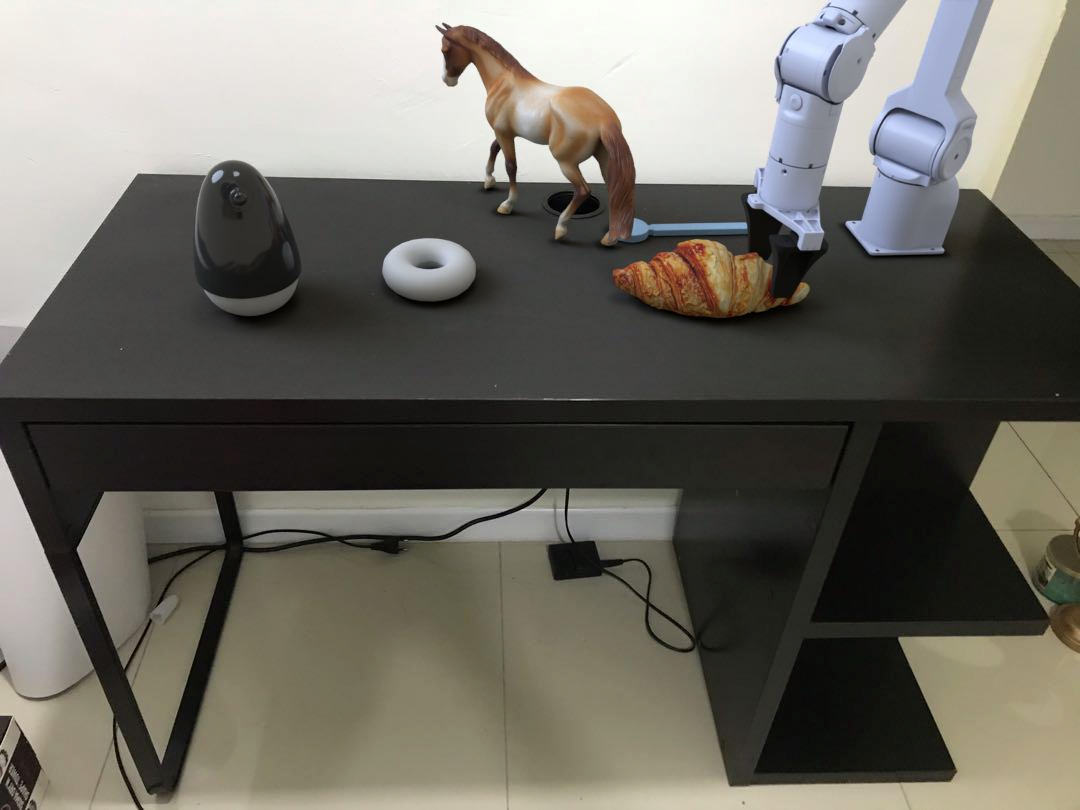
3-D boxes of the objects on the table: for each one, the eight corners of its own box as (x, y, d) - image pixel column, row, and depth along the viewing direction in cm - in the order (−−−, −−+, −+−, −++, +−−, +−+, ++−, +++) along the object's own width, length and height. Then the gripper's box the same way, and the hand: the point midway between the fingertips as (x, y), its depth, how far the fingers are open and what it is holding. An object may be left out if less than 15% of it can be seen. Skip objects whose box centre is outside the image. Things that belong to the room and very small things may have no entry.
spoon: (741, 222, 113) (742, 214, 112) (752, 240, 109) (754, 232, 109) (606, 224, 111) (607, 217, 110) (613, 243, 107) (614, 235, 106)
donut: (447, 318, 93) (492, 273, 100) (446, 290, 91) (492, 245, 98) (365, 292, 96) (414, 250, 103) (362, 264, 94) (412, 223, 101)
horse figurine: (434, 188, 116) (430, 20, 103) (479, 172, 120) (481, 9, 107) (617, 287, 99) (640, 101, 86) (662, 263, 104) (690, 84, 91)
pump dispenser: (208, 338, 88) (177, 193, 78) (198, 284, 95) (168, 146, 86) (314, 321, 91) (296, 180, 82) (296, 270, 99) (278, 135, 89)
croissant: (790, 316, 103) (797, 244, 101) (822, 325, 93) (831, 246, 91) (604, 307, 101) (609, 234, 100) (617, 315, 92) (622, 235, 90)
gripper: (736, 127, 94) (714, 244, 102) (784, 190, 82) (755, 315, 91) (801, 127, 95) (774, 243, 103) (857, 189, 83) (821, 313, 92)
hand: (769, 277), depth 97 cm, fingers open, 7 cm apart
